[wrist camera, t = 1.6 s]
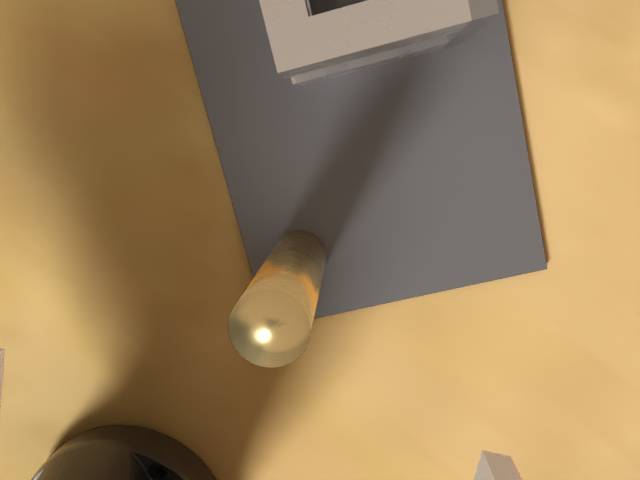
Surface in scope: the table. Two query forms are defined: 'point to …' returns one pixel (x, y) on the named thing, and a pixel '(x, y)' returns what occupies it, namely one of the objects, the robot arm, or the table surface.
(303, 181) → the mat
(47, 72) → the table surface
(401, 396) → the table surface
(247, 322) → the pin
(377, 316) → the table surface
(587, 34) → the table surface
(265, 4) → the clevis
